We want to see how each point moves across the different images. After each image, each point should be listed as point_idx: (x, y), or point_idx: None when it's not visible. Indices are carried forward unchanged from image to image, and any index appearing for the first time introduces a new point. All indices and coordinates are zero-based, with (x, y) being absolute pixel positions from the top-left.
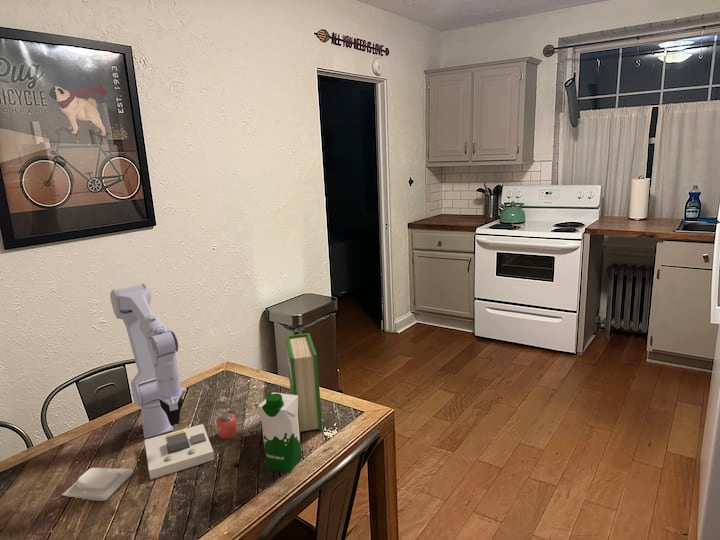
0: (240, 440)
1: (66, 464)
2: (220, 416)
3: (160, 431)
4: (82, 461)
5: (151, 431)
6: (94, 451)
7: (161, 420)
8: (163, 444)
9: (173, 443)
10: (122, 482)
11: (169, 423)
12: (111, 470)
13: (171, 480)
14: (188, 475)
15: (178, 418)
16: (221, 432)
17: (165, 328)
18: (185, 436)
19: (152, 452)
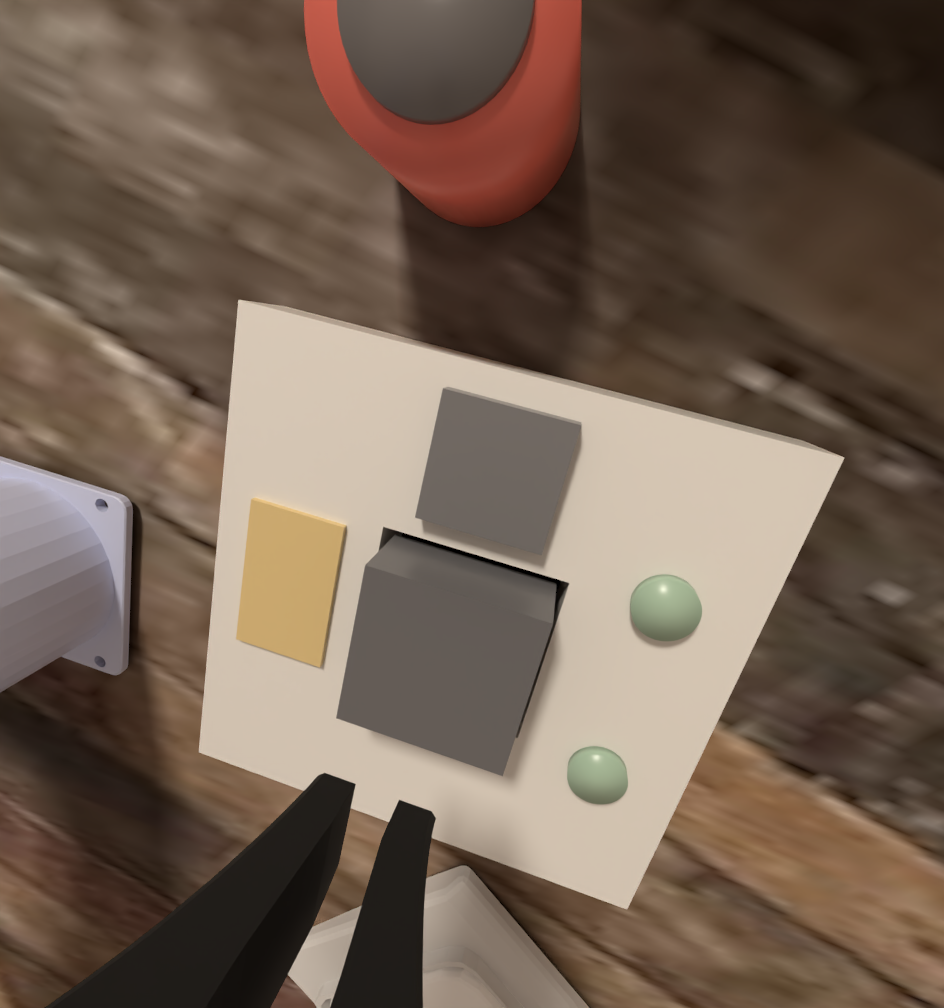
0: (718, 55)
1: None
2: (326, 67)
3: (108, 583)
4: None
5: (85, 638)
6: (110, 876)
7: (17, 605)
8: None
9: (490, 729)
10: (530, 947)
11: (41, 503)
12: None
13: (754, 776)
14: (811, 681)
15: (419, 908)
16: (514, 196)
17: None
18: (451, 602)
19: (405, 793)
